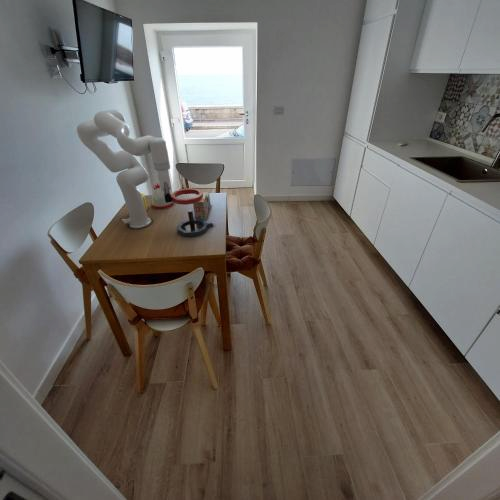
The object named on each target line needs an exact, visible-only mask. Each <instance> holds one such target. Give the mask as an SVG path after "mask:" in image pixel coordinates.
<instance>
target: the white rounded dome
mask: <svg viewBox="0 0 500 500" xmlns="http://www.w3.org/2000/svg"><path fill="white" fill-rule="evenodd" d="M152 188H153V189H154V190H153V192H152V194H151V207H152V208H153V209H156V210H164V209H165V210H166V209H168V208H171V207H172V206H174V202H173V201H172V202H168V203H166V202H165V197H164V190H163V191H161V189H160V185H159V182H157V183H156V184H154V185H153V186H152Z"/></svg>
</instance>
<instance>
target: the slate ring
mask: <svg viewBox="0 0 500 500" xmlns="http://www.w3.org/2000/svg"><path fill="white" fill-rule="evenodd" d="M197 223H198V224H199V226H202V227H200V228H201V229H199V230H197V231H186V230H184V228H185V226H186V225H190V223H189V219H187V220H184V221H182V222H180V223H179V224H178V226H177V231H178V234H179V235H181V236H183V237H189V238H192V237H197V236H202V235H203V234H205V233H206V231H207V230H208V228H212V227H214V225H213V224H214V223H213V221H207V222H206V220H199V219H195V218H194V224H197Z"/></svg>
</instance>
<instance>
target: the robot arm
mask: <svg viewBox="0 0 500 500" xmlns="http://www.w3.org/2000/svg"><path fill="white" fill-rule="evenodd" d="M76 132H77V136H78V138H79V140H80V141H81V143H82V144H83V145H84V146H85V147H86V148H87V149H88V150H90V151H91V152H92V153H93V154H94V155H95V156H96V157H97V158H98V160H100V162H101V163H102V164H103V165H104V166H105V167H106V168H107V169H108V170H109V171H110V172H111V173H114V174H115V173H116V174H117V173H118V174H117V175H116V177H115V179H116V183H117V185H118V187H119V189H120V191H121V194H122V196H123V200H124V203H125V206H126V210H127V213H128V216H129V217H127V218H122V219H121V222H122V223H124V224H128V226H129V227H130V228H132V229H142V228H145V227H149V225H151V224H152V219H151V218H150V217H148V214H147V211H146V209H145V205H144V201H143V198H142V194H143V193H142V192H141V191H140V190H139V189H138V188H137V187H138V186H140V185H143V184H145V183H146V182H147V181H148V180H149V177H150V176H149V173H148V171H147V169H146V168H145V166H144V165H143V164H142V163H141V162H140V160H138V158H137V157H141V156H144V155H147V154H150V155H151V159H152V165H153V169H154V171H156V173H157V179H158V185H160V189H161V191H163V190H164V196H165V202H166V203H168V202H172V199H171V194H172V193H171V189H172V186H171V179H170V172H169V170H170V169H171V163H170V158H169V153H168V146H167V141H166V139H165V138H163V137H155V136H153V135H151V134H150V135H144V136H140V137H135V138H131V137H129V136H130V133H131V130H130V126H129V125H128V123H126V118H125V116H124V114H123V113H122V112H121V111H119V110H117V109H108V110H102V111H99V112H97V113H95V114H94V116H93V119H89V120H84V121H82V122H80V123H79V124H78V125H77V126H76ZM107 136H112V137H114V138H115V139H116V141H117V143H118V145H119V147H120V148H121V149H122V150H119V151H115V150H113V148H112V147H111V146H110V145H109V144H108V143H106V142H105V141H103V140H101V139H99V138H103V137H107Z"/></svg>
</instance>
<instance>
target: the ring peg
mask: <svg viewBox="0 0 500 500" xmlns="http://www.w3.org/2000/svg"><path fill="white" fill-rule="evenodd" d="M187 216H188V220H189V223H190V225H186V226H185V227H184V229H185V231H197V230H199V229H201V228H202V227H201V225H200V224H198V223H197V224H194V219H195V216H194V210H193V209H188V210H187Z"/></svg>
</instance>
